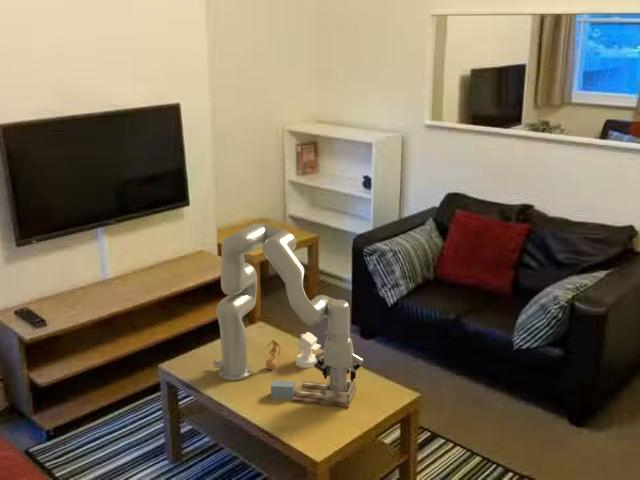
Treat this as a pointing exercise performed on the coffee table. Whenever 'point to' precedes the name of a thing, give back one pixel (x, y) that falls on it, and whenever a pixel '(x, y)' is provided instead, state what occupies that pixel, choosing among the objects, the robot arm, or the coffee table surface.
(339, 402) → the jig
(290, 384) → the wing block
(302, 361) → the character figurine
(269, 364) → the figurine
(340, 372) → the energy drink can
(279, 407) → the coffee table surface
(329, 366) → the phone
